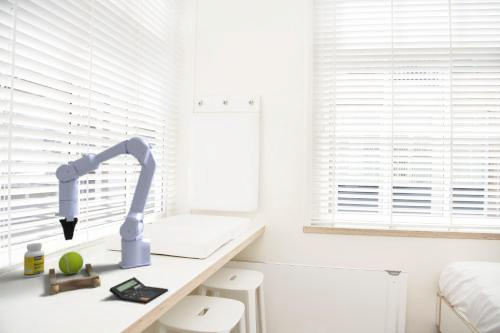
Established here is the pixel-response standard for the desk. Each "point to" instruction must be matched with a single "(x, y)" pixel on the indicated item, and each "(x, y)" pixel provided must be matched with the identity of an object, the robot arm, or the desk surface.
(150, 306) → the desk surface
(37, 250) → the supplement bottle
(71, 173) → the robot arm
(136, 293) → the calculator
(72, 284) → the level stand
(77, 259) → the tennis ball
